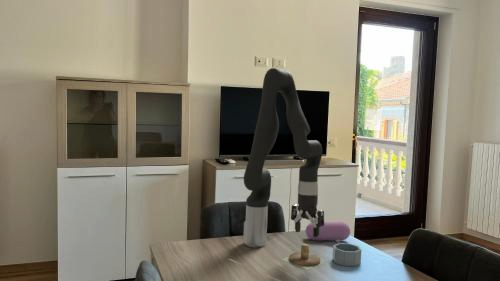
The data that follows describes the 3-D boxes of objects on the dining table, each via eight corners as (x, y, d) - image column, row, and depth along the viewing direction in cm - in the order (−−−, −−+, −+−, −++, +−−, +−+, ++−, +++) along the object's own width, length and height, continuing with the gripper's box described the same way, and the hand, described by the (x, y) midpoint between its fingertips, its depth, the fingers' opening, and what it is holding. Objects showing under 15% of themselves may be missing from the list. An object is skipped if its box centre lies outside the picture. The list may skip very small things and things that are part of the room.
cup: (328, 261, 158) (328, 246, 158) (342, 256, 165) (343, 241, 165) (350, 269, 151) (351, 254, 151) (364, 263, 158) (365, 248, 158)
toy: (306, 244, 181) (352, 243, 181) (306, 225, 181) (351, 224, 180) (304, 238, 189) (348, 238, 189) (304, 220, 189) (348, 219, 188)
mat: (280, 260, 158) (280, 259, 158) (301, 253, 167) (302, 252, 167) (307, 270, 149) (307, 269, 148) (328, 262, 158) (328, 261, 157)
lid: (282, 259, 158) (283, 244, 157) (302, 252, 166) (302, 238, 166) (307, 268, 149) (307, 252, 149) (326, 261, 157) (327, 246, 157)
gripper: (287, 190, 158) (286, 232, 159) (317, 196, 148) (315, 240, 149) (299, 188, 163) (298, 228, 165) (329, 194, 153) (327, 236, 154)
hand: (306, 234), depth 157 cm, fingers open, 8 cm apart
